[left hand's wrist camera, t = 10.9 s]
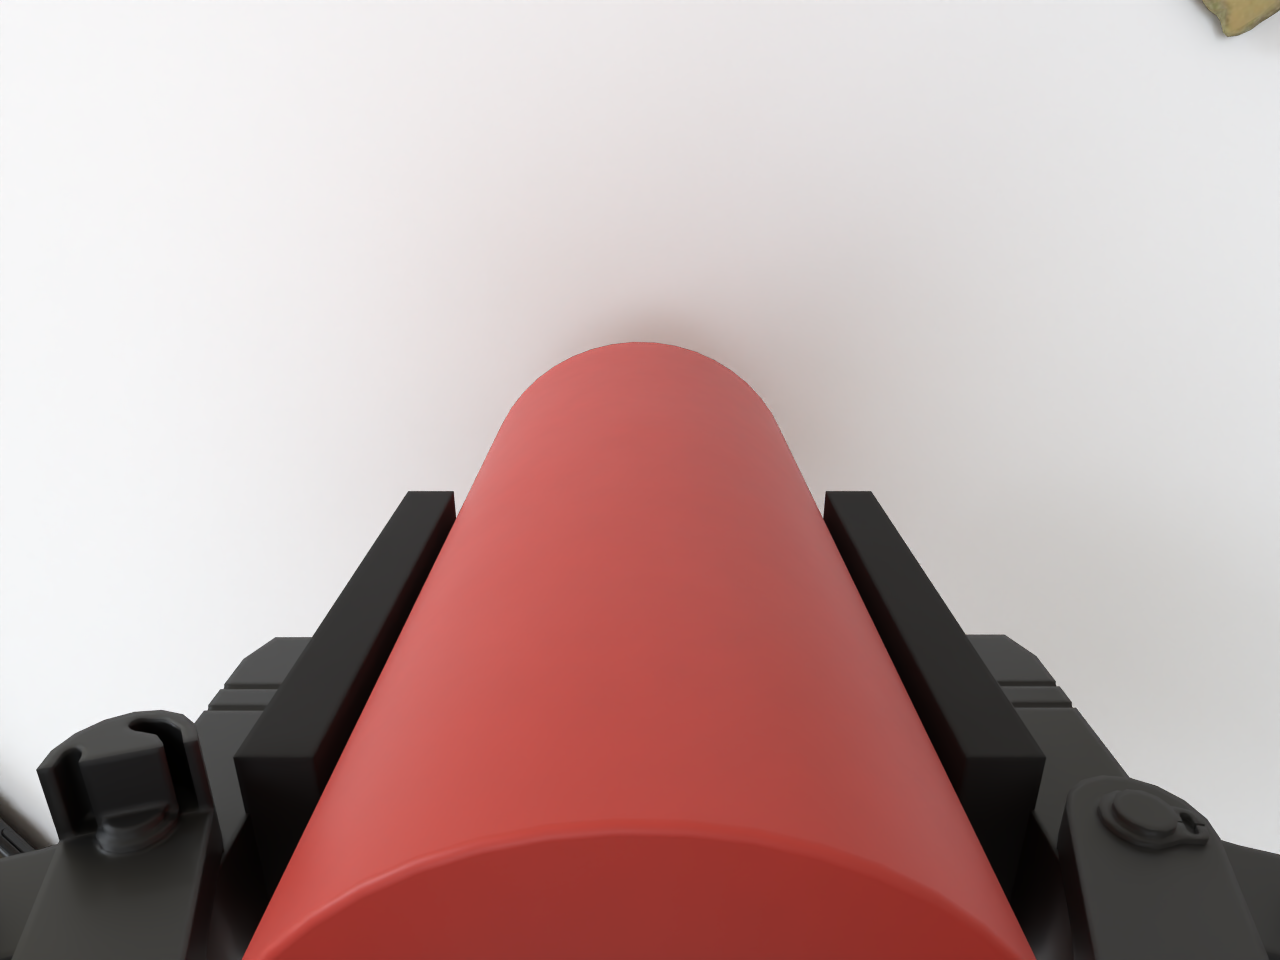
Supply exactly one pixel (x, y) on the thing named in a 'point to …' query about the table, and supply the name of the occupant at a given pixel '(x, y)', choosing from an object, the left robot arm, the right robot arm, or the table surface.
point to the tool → (1241, 13)
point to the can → (639, 717)
